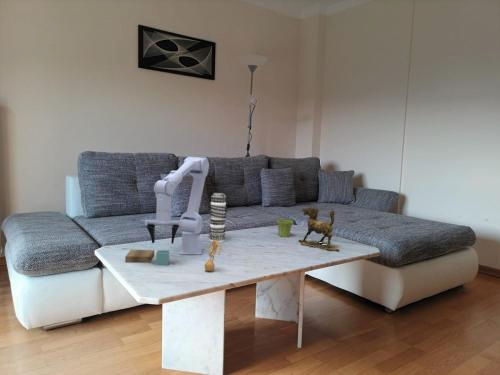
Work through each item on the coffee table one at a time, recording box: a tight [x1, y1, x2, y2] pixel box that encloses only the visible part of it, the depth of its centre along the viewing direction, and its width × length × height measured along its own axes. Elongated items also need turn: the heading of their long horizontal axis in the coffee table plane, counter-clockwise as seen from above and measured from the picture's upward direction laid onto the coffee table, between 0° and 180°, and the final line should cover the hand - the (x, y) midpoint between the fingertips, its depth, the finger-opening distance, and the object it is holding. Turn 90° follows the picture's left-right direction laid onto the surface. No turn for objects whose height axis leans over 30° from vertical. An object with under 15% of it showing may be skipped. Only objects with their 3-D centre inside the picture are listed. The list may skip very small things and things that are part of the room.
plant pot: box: [276, 219, 294, 238], centre depth 208 cm, size 9×9×9 cm
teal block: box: [155, 249, 170, 266], centre depth 148 cm, size 4×4×5 cm
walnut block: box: [125, 249, 155, 264], centre depth 153 cm, size 10×10×3 cm
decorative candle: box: [208, 192, 228, 243], centre depth 190 cm, size 9×9×25 cm
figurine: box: [298, 206, 340, 252], centre depth 188 cm, size 13×25×20 cm, turn 41°
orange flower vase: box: [204, 241, 222, 272], centre depth 142 cm, size 8×6×12 cm
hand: (162, 242), depth 147 cm, fingers open, 7 cm apart
